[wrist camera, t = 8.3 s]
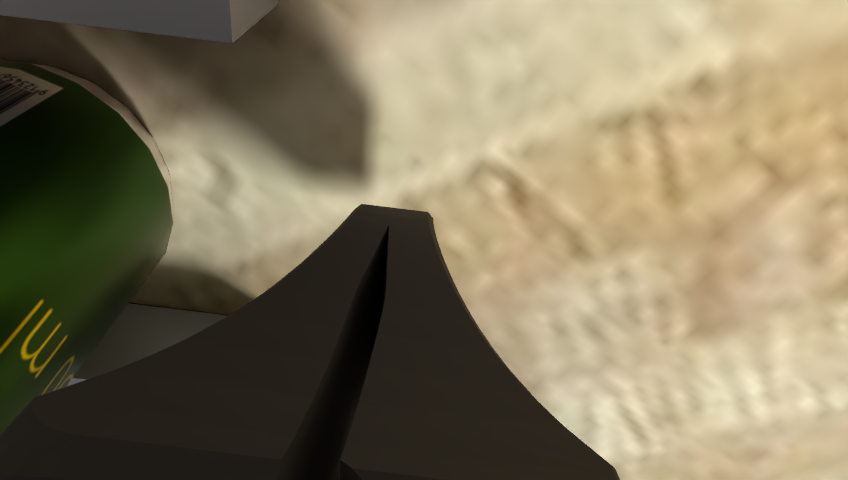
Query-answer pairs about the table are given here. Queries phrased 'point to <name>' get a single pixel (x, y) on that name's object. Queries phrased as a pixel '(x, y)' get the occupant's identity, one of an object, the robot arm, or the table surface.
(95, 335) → the beer can
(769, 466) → the table surface
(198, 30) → the dock
